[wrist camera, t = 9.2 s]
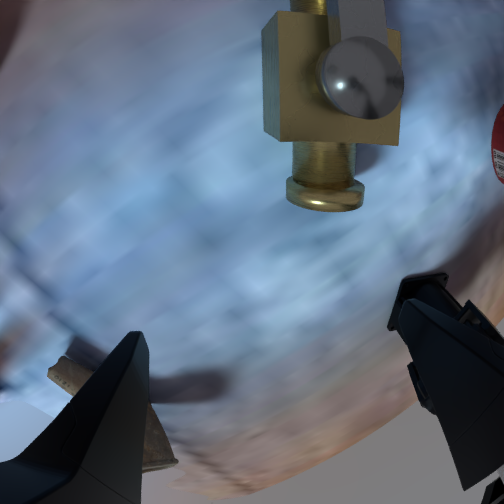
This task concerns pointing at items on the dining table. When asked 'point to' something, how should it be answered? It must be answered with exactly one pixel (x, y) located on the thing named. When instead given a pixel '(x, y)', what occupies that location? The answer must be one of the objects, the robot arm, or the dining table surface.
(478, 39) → the dining table surface
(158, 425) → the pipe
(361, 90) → the lever
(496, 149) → the canned food
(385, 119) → the valve
